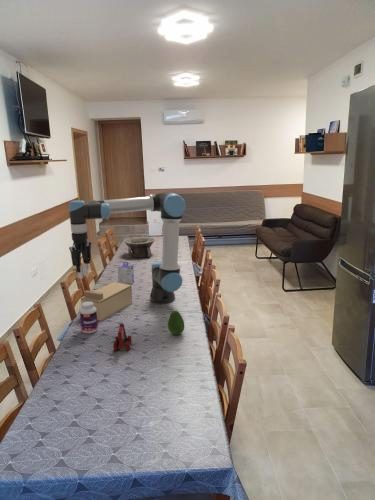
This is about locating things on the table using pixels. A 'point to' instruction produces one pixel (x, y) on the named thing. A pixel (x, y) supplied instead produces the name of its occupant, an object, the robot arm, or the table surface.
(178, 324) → the fruit
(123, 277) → the ink cartridge box
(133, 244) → the bowl
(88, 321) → the pill bottle
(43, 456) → the table surface
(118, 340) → the red pointed piece
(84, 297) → the lid
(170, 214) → the robot arm
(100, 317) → the mailer box
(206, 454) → the table surface
